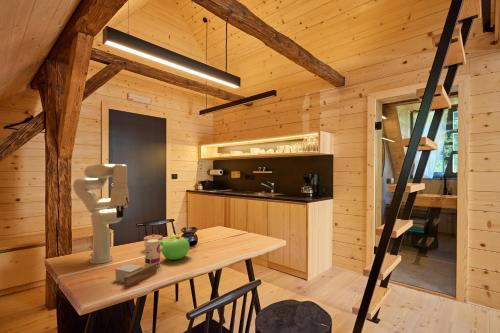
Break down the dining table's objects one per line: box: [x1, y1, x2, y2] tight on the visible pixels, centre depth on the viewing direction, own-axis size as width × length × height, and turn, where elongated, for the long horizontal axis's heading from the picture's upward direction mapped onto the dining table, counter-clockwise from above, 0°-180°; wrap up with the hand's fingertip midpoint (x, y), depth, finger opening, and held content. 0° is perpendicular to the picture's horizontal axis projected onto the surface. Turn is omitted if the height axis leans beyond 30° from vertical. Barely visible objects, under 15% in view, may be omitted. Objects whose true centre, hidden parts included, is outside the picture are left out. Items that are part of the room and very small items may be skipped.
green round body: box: [160, 233, 191, 261], centre depth 170 cm, size 18×17×15 cm
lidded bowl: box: [143, 233, 164, 248], centre depth 188 cm, size 13×13×11 cm
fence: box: [123, 263, 157, 289], centre depth 138 cm, size 2×20×5 cm, turn 159°
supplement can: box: [144, 239, 161, 268], centre depth 157 cm, size 8×8×15 cm
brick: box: [115, 263, 143, 283], centre depth 139 cm, size 10×8×6 cm
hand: (119, 217), depth 154 cm, fingers closed
